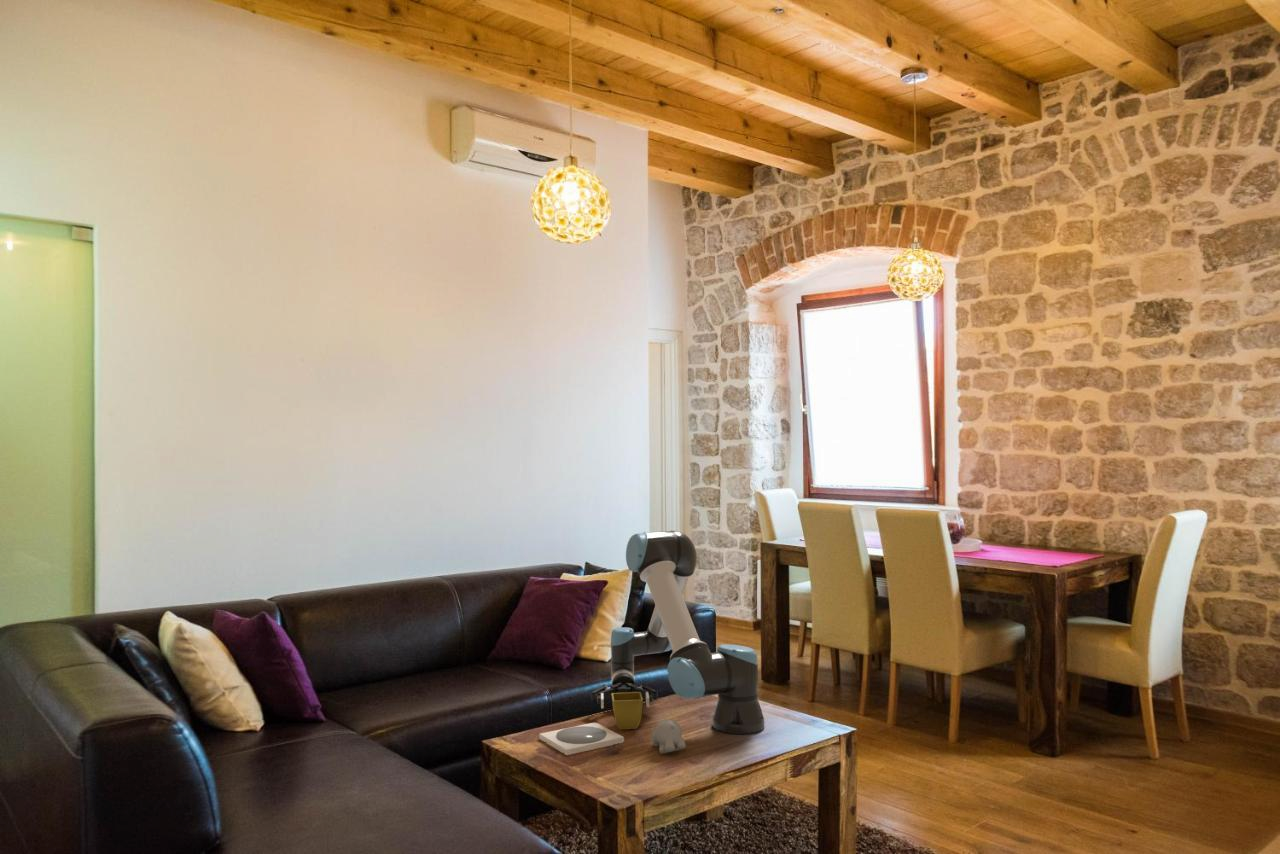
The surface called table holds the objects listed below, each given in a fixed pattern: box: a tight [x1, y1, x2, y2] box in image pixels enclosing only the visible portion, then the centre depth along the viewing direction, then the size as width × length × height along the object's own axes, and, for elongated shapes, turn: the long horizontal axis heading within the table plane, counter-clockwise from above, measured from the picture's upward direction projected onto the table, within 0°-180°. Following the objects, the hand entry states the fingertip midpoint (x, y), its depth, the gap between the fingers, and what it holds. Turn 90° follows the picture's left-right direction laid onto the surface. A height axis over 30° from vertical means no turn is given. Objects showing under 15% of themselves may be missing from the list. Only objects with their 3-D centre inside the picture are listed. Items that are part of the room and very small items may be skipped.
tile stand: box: [539, 721, 625, 756], centre depth 249 cm, size 16×18×2 cm
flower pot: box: [611, 692, 644, 730], centre depth 261 cm, size 9×9×9 cm
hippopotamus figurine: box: [650, 718, 687, 755], centre depth 241 cm, size 7×12×8 cm, turn 30°
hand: (625, 703), depth 265 cm, fingers open, 13 cm apart
